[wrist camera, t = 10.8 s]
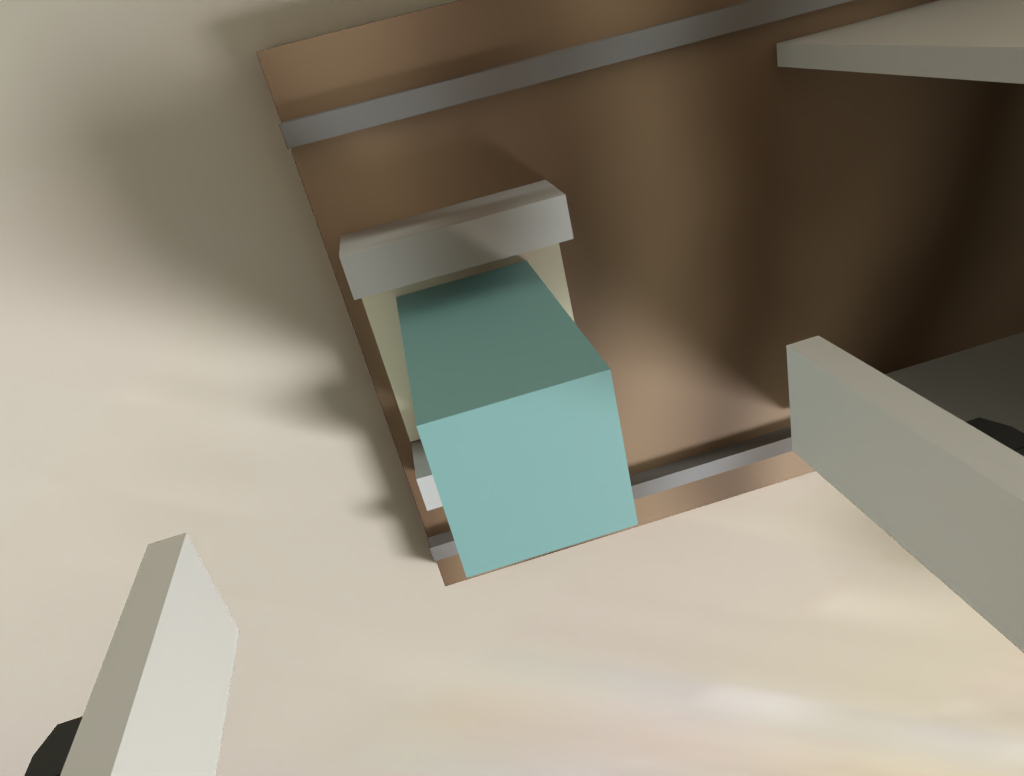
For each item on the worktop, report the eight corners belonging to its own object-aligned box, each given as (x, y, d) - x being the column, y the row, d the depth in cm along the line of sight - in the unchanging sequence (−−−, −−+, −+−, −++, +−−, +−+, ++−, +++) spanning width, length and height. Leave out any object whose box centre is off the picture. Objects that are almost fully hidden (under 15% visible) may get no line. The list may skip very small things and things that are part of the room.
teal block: (432, 412, 23) (466, 577, 16) (395, 296, 21) (416, 426, 14) (552, 377, 23) (638, 524, 16) (526, 260, 22) (610, 368, 15)
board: (441, 565, 27) (452, 630, 24) (261, 50, 19) (244, 53, 16) (1021, 385, 29) (1098, 425, 26) (1086, -158, 21) (1209, -190, 18)
